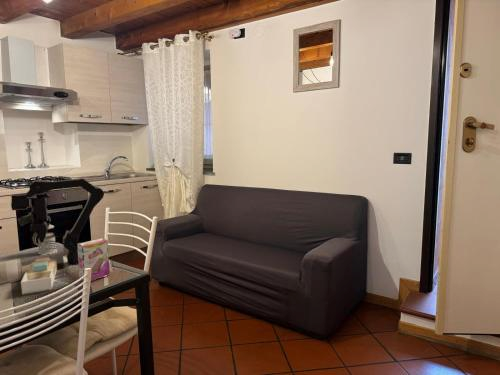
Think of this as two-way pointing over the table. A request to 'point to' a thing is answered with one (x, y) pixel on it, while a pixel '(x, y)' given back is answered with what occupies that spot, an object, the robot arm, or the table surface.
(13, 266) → the table surface
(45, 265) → the mint green block
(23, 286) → the box
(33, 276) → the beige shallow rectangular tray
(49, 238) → the french press
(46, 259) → the terracotta block
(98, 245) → the candy bar box
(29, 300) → the table surface
